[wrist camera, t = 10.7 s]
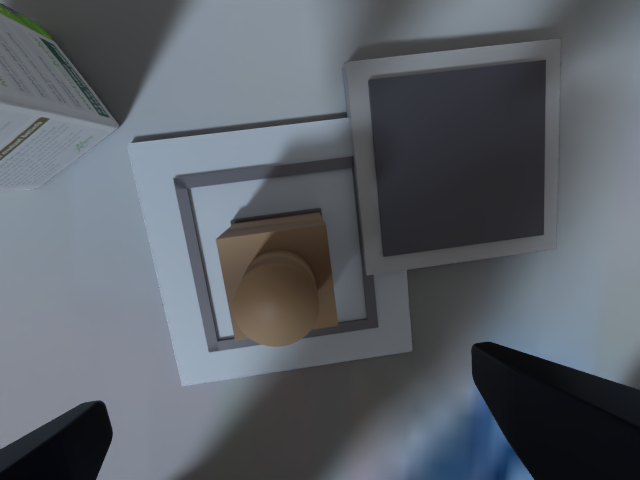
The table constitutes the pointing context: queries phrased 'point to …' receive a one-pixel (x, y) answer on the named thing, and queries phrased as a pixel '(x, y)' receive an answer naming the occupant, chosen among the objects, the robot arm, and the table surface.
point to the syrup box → (42, 106)
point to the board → (255, 200)
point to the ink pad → (455, 153)
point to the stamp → (278, 276)
